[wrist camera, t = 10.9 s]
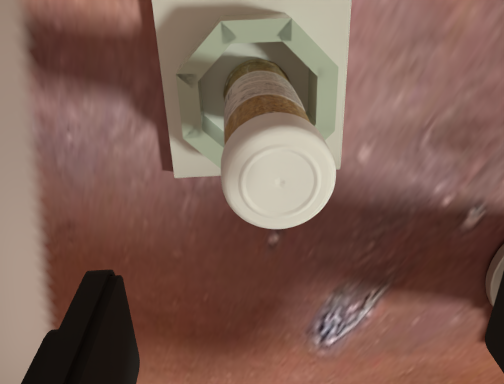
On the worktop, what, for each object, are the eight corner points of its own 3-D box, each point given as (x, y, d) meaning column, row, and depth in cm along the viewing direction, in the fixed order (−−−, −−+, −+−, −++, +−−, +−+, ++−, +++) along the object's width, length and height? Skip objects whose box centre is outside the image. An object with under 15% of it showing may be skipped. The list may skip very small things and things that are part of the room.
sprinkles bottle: (274, 134, 30) (307, 246, 18) (212, 111, 29) (203, 214, 17) (303, 72, 28) (360, 152, 16) (237, 44, 27) (247, 109, 15)
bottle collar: (337, 163, 32) (350, 187, 29) (176, 172, 32) (169, 197, 28) (348, -14, 27) (366, -11, 23) (153, -7, 26) (142, -2, 23)
